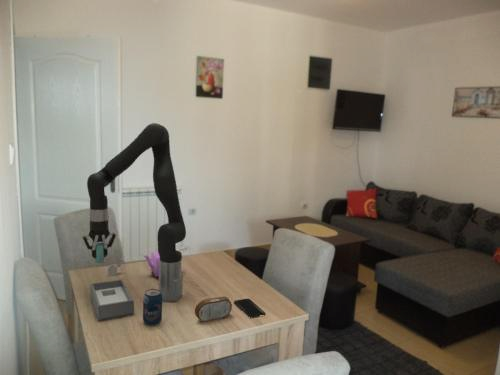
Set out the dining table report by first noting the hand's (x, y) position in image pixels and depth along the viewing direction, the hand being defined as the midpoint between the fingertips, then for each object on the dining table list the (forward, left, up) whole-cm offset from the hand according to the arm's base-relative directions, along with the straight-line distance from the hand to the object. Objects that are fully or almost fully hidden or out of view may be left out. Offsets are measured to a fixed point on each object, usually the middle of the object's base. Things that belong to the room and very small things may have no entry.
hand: (99, 257), depth 164 cm
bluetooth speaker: (-56, +2, -16) cm, 58 cm away
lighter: (+5, -17, -16) cm, 24 cm away
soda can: (-36, +14, -16) cm, 41 cm away
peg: (0, 0, -2) cm, 2 cm away
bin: (-14, +9, -15) cm, 23 cm away
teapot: (-15, -27, -16) cm, 35 cm away
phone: (-66, -12, -16) cm, 69 cm away
